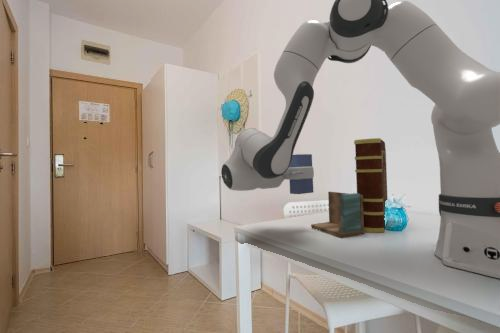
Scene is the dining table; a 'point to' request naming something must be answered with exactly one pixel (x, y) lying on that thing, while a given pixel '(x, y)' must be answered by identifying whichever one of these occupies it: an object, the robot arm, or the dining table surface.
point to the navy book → (301, 184)
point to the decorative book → (372, 181)
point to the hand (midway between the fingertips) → (302, 172)
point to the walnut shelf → (343, 215)
